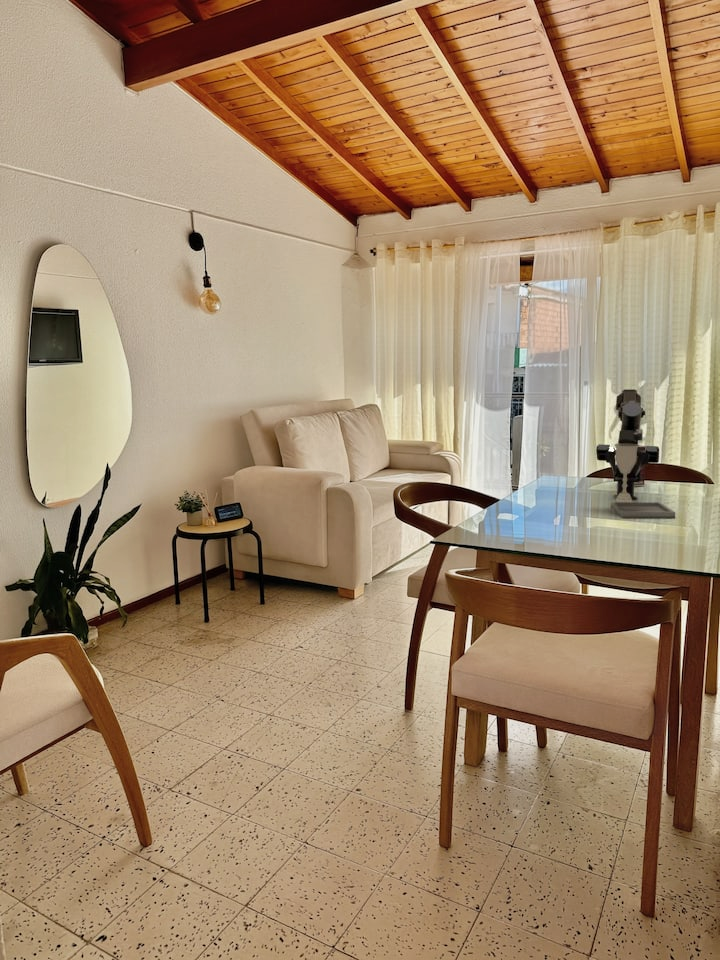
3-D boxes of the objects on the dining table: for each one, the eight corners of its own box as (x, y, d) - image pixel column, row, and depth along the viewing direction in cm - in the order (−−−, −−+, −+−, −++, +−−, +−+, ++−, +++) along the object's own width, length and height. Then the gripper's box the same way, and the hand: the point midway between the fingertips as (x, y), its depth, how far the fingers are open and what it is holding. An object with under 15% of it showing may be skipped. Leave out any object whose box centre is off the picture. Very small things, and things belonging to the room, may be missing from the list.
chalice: (632, 497, 221) (635, 443, 217) (639, 502, 214) (642, 446, 211) (609, 498, 221) (611, 443, 218) (615, 503, 215) (617, 446, 211)
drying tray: (610, 507, 229) (610, 502, 229) (659, 508, 227) (660, 502, 227) (621, 518, 215) (622, 512, 214) (675, 518, 213) (675, 512, 212)
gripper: (598, 419, 220) (592, 458, 213) (660, 420, 212) (657, 461, 205) (600, 440, 229) (594, 478, 221) (660, 442, 221) (656, 482, 213)
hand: (624, 474), depth 215 cm, fingers closed on chalice, 6 cm apart
